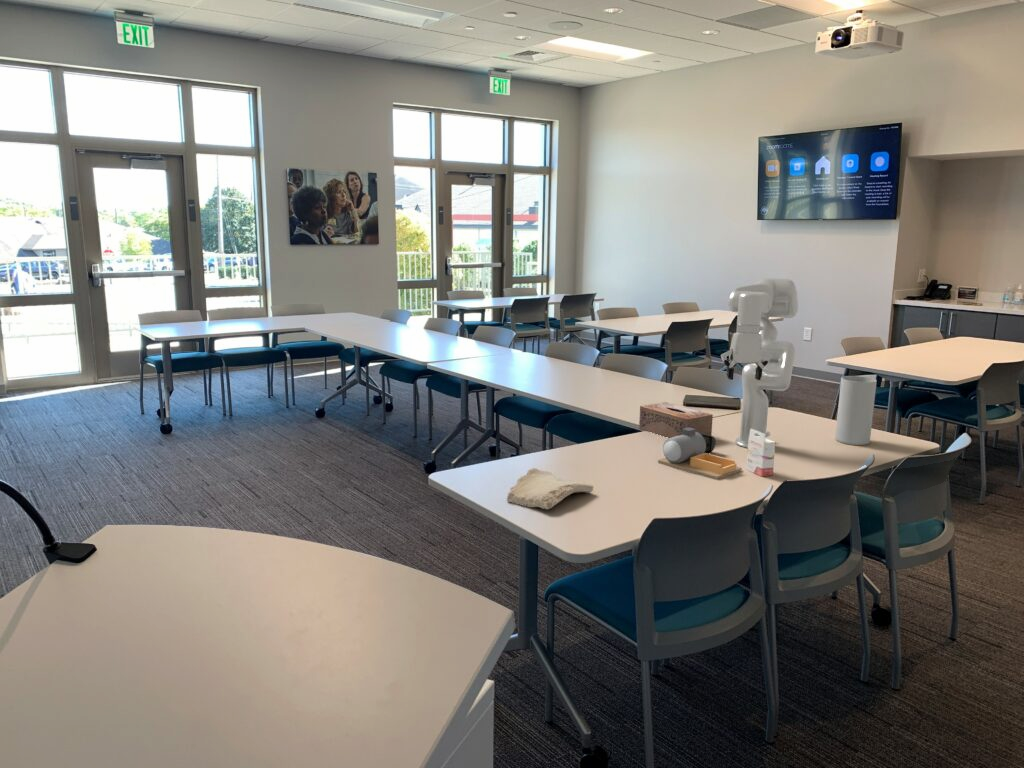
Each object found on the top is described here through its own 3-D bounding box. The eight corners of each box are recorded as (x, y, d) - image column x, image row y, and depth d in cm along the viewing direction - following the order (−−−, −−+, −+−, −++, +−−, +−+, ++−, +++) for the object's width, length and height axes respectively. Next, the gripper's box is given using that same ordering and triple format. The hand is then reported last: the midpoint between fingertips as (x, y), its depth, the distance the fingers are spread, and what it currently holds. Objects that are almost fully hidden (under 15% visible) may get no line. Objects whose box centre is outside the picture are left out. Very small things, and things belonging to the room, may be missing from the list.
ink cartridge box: (773, 475, 254) (777, 433, 251) (761, 477, 252) (765, 434, 249) (757, 468, 262) (760, 427, 259) (745, 469, 260) (748, 428, 257)
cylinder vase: (861, 437, 303) (868, 376, 298) (875, 446, 291) (882, 382, 286) (830, 436, 303) (836, 375, 298) (842, 445, 291) (849, 381, 286)
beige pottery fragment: (497, 502, 228) (550, 513, 216) (496, 478, 228) (549, 487, 215) (545, 485, 247) (597, 494, 234) (545, 463, 246) (596, 470, 233)
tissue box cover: (711, 439, 299) (712, 414, 297) (685, 444, 291) (687, 419, 289) (664, 424, 320) (665, 401, 318) (639, 429, 312) (640, 406, 310)
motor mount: (683, 454, 276) (685, 423, 274) (741, 470, 259) (744, 437, 256) (657, 462, 266) (659, 430, 264) (716, 479, 249) (719, 445, 246)
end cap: (715, 452, 280) (716, 435, 278) (705, 456, 275) (706, 438, 273) (691, 447, 287) (692, 429, 285) (681, 450, 282) (682, 433, 280)
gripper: (768, 329, 260) (763, 378, 263) (719, 328, 259) (715, 377, 262) (777, 331, 253) (773, 381, 256) (727, 330, 251) (723, 380, 254)
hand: (744, 379), depth 259 cm, fingers open, 9 cm apart
